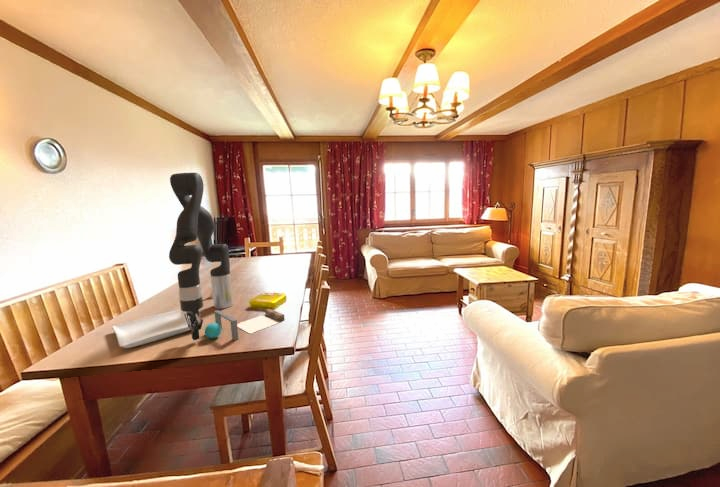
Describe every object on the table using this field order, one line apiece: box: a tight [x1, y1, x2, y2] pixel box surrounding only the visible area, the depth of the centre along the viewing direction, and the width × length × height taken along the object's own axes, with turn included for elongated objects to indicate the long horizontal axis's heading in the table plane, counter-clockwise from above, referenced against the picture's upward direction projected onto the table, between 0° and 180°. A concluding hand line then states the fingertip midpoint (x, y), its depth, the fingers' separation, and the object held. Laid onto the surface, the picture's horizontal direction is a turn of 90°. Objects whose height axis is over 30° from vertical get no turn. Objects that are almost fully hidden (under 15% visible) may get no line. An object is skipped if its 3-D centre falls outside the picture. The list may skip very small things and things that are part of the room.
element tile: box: [248, 292, 287, 311], centre depth 155 cm, size 15×15×5 cm
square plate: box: [111, 309, 191, 349], centre depth 125 cm, size 27×27×4 cm
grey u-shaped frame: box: [214, 309, 239, 341], centre depth 120 cm, size 17×2×8 cm, turn 49°
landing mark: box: [237, 314, 280, 335], centre depth 130 cm, size 14×14×1 cm
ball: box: [204, 322, 222, 339], centre depth 117 cm, size 6×6×6 cm
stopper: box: [264, 309, 285, 322], centre depth 137 cm, size 13×2×2 cm, turn 49°
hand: (195, 338), depth 114 cm, fingers closed
